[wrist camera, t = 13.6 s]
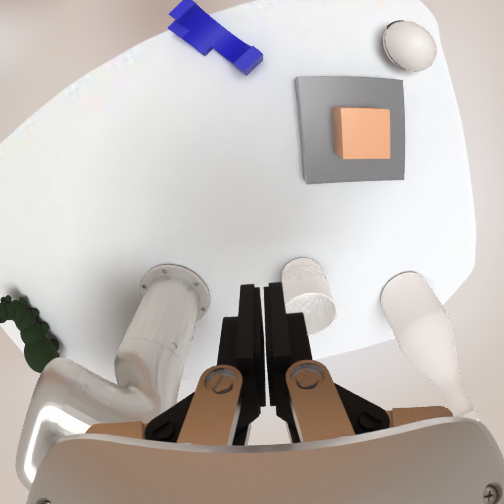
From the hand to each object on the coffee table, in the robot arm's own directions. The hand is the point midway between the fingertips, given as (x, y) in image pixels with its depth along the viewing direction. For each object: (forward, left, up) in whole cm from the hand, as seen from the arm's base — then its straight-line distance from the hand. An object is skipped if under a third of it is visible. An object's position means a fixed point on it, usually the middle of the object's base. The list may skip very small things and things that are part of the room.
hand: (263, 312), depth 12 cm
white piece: (+16, -19, -31) cm, 40 cm away
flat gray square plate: (+4, -12, -31) cm, 33 cm away
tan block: (+4, -12, -30) cm, 33 cm away
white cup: (-19, -4, -31) cm, 37 cm away
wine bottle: (-25, -23, -31) cm, 46 cm away
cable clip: (+17, +4, -31) cm, 35 cm away
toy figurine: (-29, +59, -31) cm, 72 cm away
